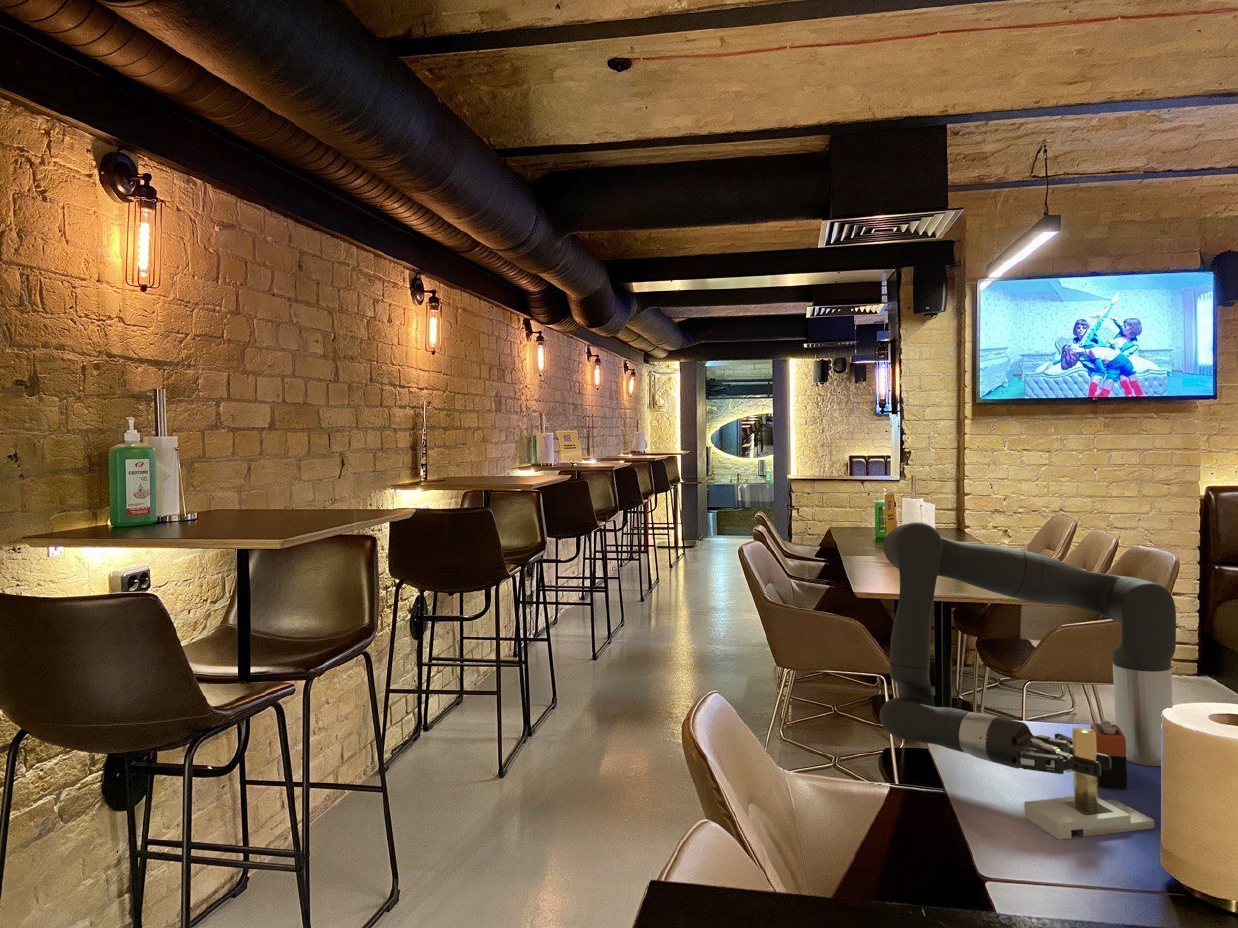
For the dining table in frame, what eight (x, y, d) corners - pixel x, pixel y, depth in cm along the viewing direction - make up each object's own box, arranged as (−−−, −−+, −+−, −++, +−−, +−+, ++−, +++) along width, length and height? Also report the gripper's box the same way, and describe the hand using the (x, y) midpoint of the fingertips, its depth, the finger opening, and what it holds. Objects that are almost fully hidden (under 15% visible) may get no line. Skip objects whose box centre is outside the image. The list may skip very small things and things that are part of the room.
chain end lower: (1083, 836, 123) (1083, 828, 123) (1047, 814, 131) (1047, 806, 131) (1154, 827, 124) (1154, 820, 124) (1115, 806, 132) (1114, 798, 132)
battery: (1098, 787, 140) (1096, 729, 140) (1092, 773, 146) (1089, 717, 146) (1128, 790, 138) (1126, 731, 138) (1120, 775, 145) (1118, 719, 145)
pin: (1088, 802, 129) (1085, 726, 129) (1103, 810, 126) (1100, 733, 126) (1069, 804, 129) (1067, 728, 129) (1084, 812, 125) (1082, 735, 125)
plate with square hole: (1092, 808, 132) (1092, 794, 132) (1131, 830, 124) (1130, 814, 124) (1024, 816, 130) (1024, 801, 130) (1059, 839, 122) (1058, 823, 122)
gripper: (972, 726, 134) (1085, 753, 121) (1013, 707, 143) (1123, 731, 129) (974, 772, 134) (1086, 804, 121) (1015, 750, 143) (1124, 778, 129)
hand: (1104, 766), depth 125 cm, fingers closed on pin, 3 cm apart
